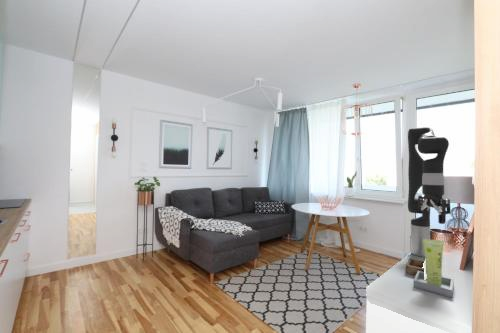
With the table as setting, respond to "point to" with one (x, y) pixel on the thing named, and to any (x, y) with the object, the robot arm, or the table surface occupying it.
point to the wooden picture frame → (414, 266)
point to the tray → (444, 289)
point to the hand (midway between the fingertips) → (433, 221)
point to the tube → (433, 260)
